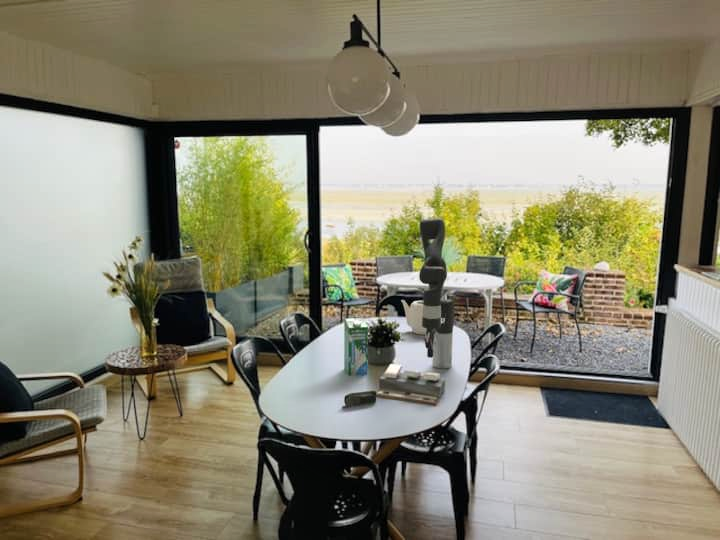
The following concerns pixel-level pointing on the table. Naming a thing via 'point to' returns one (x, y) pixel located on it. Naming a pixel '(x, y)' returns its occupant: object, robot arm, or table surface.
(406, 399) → the switch box
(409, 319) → the watering can
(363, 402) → the mobile phone
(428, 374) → the cream box
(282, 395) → the table surface
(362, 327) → the milk carton
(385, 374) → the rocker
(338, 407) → the table surface
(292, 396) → the table surface
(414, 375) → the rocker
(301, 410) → the table surface
